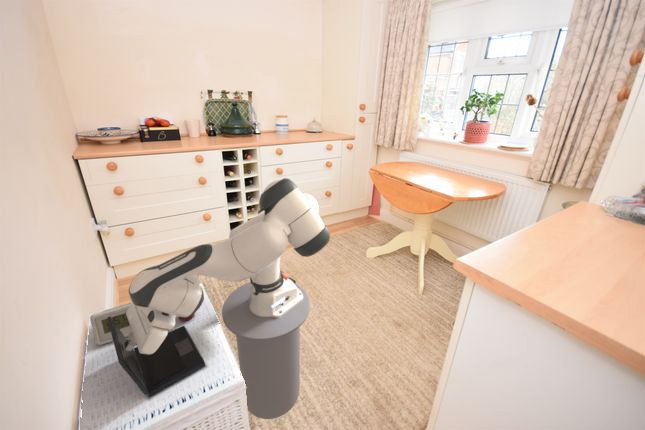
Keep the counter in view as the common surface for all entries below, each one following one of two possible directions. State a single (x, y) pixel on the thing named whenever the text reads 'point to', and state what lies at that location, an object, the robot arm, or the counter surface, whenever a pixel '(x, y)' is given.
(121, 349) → the laptop screen
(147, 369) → the laptop
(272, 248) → the robot arm
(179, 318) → the cupcake
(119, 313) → the digital clock
